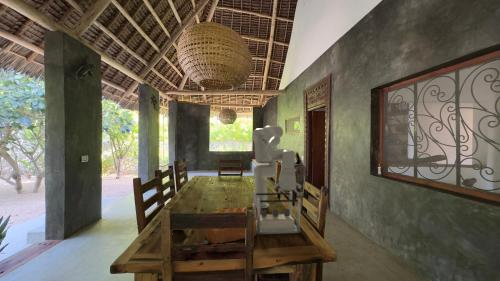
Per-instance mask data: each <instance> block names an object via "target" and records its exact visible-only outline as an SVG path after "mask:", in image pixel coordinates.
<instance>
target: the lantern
mask: <svg viewBox="0 0 500 281" xmlns="http://www.w3.org/2000/svg"><path fill="white" fill-rule="evenodd" d="M182 213H191V211H190V210H188V211H183V212H182ZM194 235H195V240H196V243H194V244H205V245H208V244H209V243H210V242H209V241H208V240H207V239H206V240H205V236H204V231H203V228H202V229H194Z"/></svg>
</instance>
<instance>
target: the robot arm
mask: <svg viewBox="0 0 500 281" xmlns="http://www.w3.org/2000/svg"><path fill="white" fill-rule="evenodd" d="M283 135H284V130H283V128H282V127H281V126H280V125H266V126H264V127H263V128H262V127H261V128H256V129H254V130H253V131H252V140H253V144H254V159H255V162H256V163H257V164H258V165H256V166H255V167H254V168H253V176H254V192H256V193H268V182H267V181H266V179H265V178H273V177H275V176H276V174H277V162H281V172H279V177H278V182H277V183H275V184H273V185H272V187H273V189H274V191H275V192H276V193H277V195H276V196H277V197H276V198H277V200H281V196H282V195H281V194H280V193H282V192H281V191H293V192H292V199H293V200H297V198H298V193H299V192H300V191H301V188H302V184H299V183H297V176H296V172H297V168H295V160H296V159H295V158H296V156H295V154H296V153H295V151H294V150H291V149H288V148H275V147H277V146H278V145H279V144H280V142H281V137H283ZM263 140H266V142H267V143H266V144H265V142H264V141H263ZM259 164H260V165H259ZM277 187H278V188H277ZM257 199H261V200H268V195H256V209H257ZM251 205H252V207H253V203H252V204H251ZM269 205H270V204H269V203H268V202H261V203H260V209H267V208H269Z"/></svg>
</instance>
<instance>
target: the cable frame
mask: <svg viewBox="0 0 500 281" xmlns="http://www.w3.org/2000/svg"><path fill="white" fill-rule="evenodd" d="M280 194H281V195H280V196H288V197H289V198H288V199H280V200H279V199H267V200H261V199H257V208H256V195H267V196H277V192H267V193H256V192H255V191H254V192H253V198H252V199H253V203H252V204H253V206H252V210H253V209H254V220H255V222H256V228H257V233H256V235H273V234H274V235H275V234H277V235H279V234H280V235H281V234H301V198H300V197H297V198H296V200H295V199H293V191H289V192H280ZM261 202H267V203H288V209H289V214H290V215H291V217H292V218H293V203H296V224H295V223H294V229H282V230H260V215H261V208H260V203H261Z"/></svg>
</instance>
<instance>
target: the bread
mask: <svg viewBox="0 0 500 281" xmlns="http://www.w3.org/2000/svg"><path fill="white" fill-rule="evenodd" d="M247 207H248V206H244V207H243V206H238V207H237V208H236V207H234V206H233V207H228V208H227V209H226V208H220V209H219V210H217V209H216V210H213V211H212V212H211V213H222V212H245V211H246V210H247ZM256 235H257V228H256V222H255V220H254V236H253V237H255V236H256ZM205 237H206V240H207V241H208V242H209V243H211V244H214V245H218V244H217V243H220V244H224V243H228V242H233V241H238V240H241V239H244V240H245V239H246V238H245V228H224V229H205Z"/></svg>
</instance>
